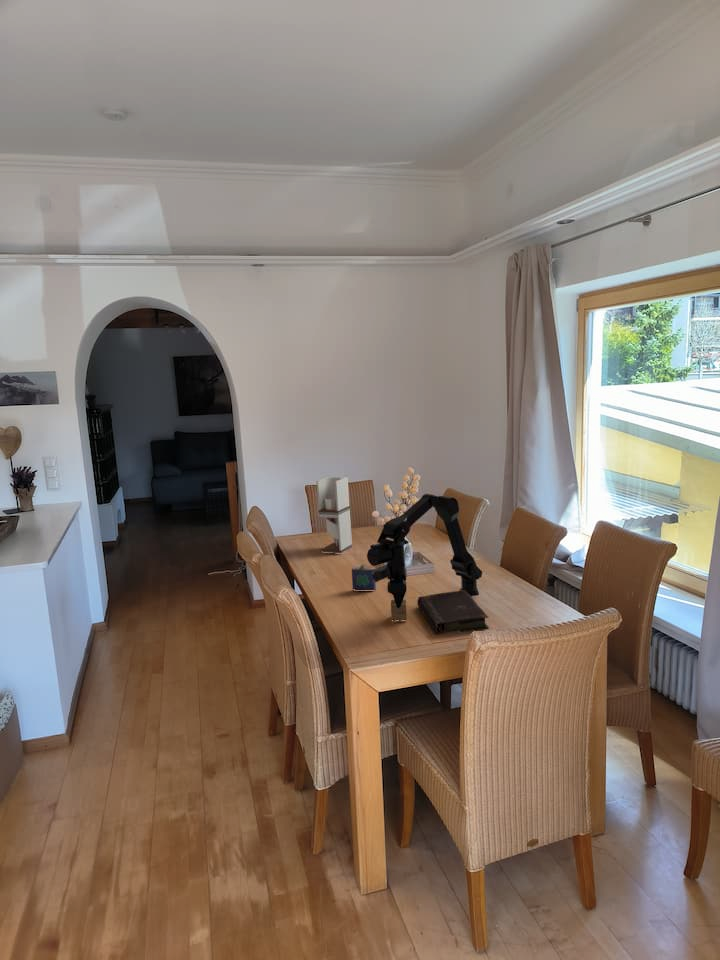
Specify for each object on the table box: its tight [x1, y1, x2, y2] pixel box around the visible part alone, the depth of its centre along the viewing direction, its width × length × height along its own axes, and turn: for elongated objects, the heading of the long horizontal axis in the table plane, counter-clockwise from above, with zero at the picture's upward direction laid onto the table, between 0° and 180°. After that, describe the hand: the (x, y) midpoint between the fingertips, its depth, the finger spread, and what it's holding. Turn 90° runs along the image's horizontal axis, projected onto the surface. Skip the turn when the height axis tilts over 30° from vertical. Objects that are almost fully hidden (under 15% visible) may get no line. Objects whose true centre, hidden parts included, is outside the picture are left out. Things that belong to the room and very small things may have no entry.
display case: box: [316, 476, 353, 553], centre depth 303 cm, size 11×11×35 cm
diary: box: [417, 590, 490, 636], centre depth 215 cm, size 19×25×5 cm
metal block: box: [390, 599, 408, 621], centre depth 216 cm, size 5×5×6 cm
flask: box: [351, 563, 377, 590], centre depth 246 cm, size 9×3×11 cm, turn 78°
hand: (398, 603), depth 216 cm, fingers open, 9 cm apart
